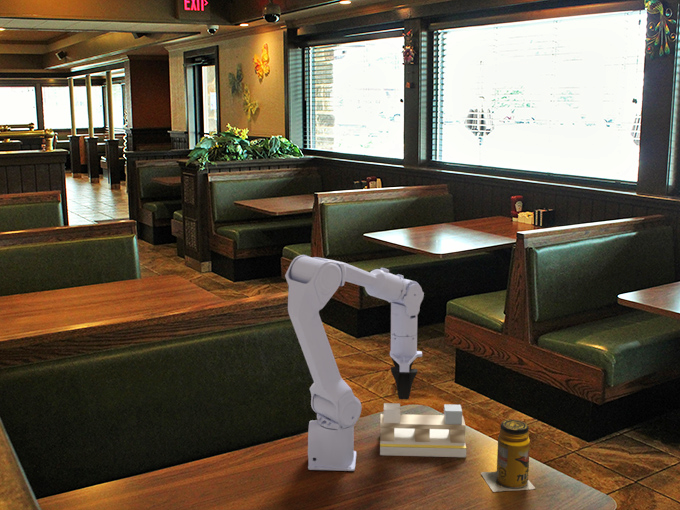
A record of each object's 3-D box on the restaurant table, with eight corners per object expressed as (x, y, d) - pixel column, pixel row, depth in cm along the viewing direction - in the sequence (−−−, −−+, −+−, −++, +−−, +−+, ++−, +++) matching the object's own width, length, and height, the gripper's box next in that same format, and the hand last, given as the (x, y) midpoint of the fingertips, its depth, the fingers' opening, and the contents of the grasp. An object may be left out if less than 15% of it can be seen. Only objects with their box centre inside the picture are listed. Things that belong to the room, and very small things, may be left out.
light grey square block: (445, 424, 148) (445, 410, 148) (443, 417, 152) (444, 404, 151) (461, 424, 148) (462, 411, 148) (460, 417, 152) (460, 404, 151)
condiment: (535, 489, 134) (538, 430, 132) (493, 492, 133) (495, 433, 130) (520, 470, 141) (523, 415, 139) (480, 474, 140) (482, 417, 138)
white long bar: (380, 440, 150) (380, 423, 149) (380, 430, 155) (380, 413, 154) (465, 443, 149) (465, 425, 148) (462, 432, 153) (463, 415, 153)
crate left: (383, 422, 149) (383, 409, 149) (383, 416, 153) (383, 403, 152) (400, 423, 149) (400, 410, 149) (399, 416, 153) (399, 403, 152)
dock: (380, 455, 148) (380, 445, 147) (380, 434, 158) (380, 425, 157) (466, 457, 147) (466, 447, 146) (461, 436, 156) (461, 427, 156)
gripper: (424, 343, 145) (423, 405, 147) (420, 323, 159) (419, 380, 162) (390, 343, 145) (389, 404, 148) (389, 323, 159) (389, 379, 162)
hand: (403, 391), depth 155 cm, fingers open, 7 cm apart
